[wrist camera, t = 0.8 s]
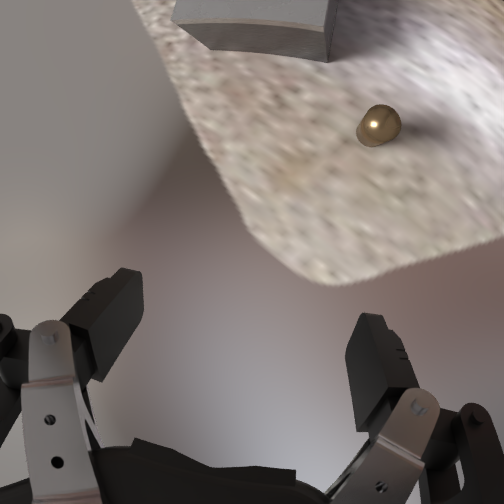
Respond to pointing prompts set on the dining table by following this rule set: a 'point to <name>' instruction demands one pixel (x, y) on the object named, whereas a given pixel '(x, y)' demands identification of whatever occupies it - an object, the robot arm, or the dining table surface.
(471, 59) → the dining table surface
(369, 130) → the brown glossy cylinder
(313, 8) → the box
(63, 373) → the robot arm
